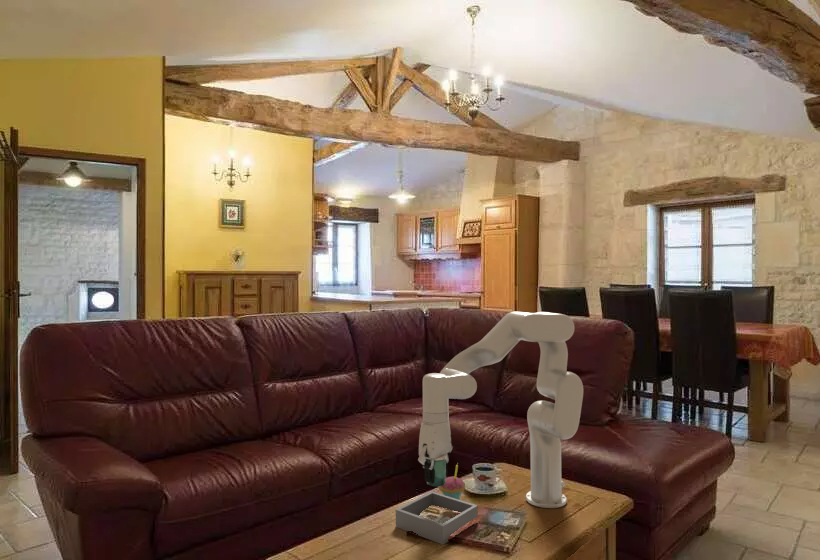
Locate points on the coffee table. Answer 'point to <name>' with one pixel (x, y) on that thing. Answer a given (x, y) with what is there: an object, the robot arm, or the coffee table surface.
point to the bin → (430, 529)
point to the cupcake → (453, 486)
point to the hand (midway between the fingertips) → (436, 478)
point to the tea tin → (439, 471)
